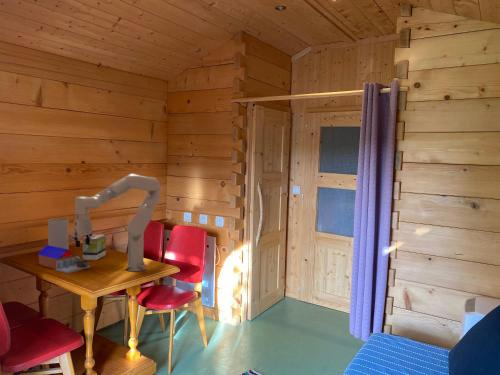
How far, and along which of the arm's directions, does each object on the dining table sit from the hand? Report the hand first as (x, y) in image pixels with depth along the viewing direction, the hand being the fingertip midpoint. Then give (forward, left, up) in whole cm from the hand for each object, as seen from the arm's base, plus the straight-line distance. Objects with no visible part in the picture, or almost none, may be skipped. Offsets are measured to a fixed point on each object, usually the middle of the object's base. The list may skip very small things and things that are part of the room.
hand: (82, 245), depth 240 cm
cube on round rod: (0, 0, -13) cm, 13 cm away
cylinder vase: (+40, -12, -14) cm, 44 cm away
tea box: (+16, -22, -14) cm, 30 cm away
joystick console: (+3, +4, -14) cm, 15 cm away
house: (+19, +4, -15) cm, 24 cm away
